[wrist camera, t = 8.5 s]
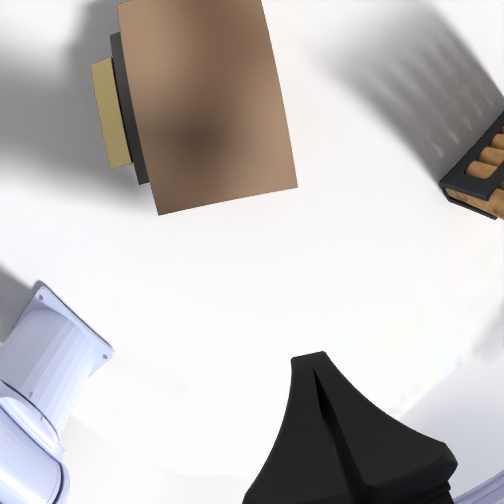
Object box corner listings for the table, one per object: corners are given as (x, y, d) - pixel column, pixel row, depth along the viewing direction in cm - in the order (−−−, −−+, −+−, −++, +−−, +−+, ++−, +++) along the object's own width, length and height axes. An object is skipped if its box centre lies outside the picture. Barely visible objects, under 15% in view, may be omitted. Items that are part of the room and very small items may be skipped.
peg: (142, 157, 17) (110, 168, 12) (126, 79, 15) (90, 64, 10) (273, 129, 17) (288, 128, 12) (257, 47, 15) (265, 19, 10)
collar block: (172, 192, 18) (147, 218, 13) (141, 38, 15) (106, 9, 9) (279, 170, 18) (298, 187, 13) (248, 14, 14) (253, -28, 9)
